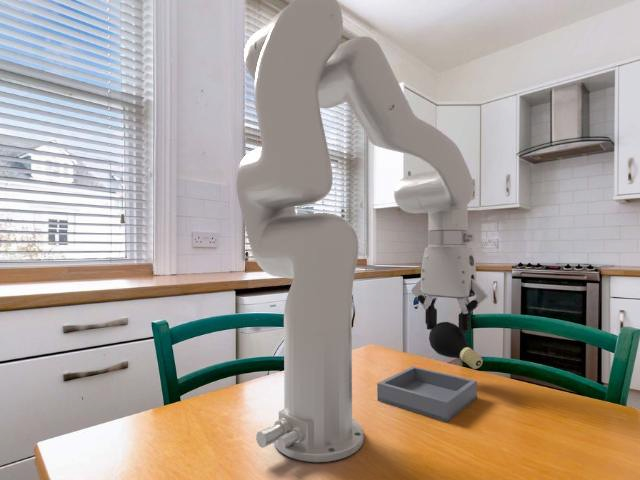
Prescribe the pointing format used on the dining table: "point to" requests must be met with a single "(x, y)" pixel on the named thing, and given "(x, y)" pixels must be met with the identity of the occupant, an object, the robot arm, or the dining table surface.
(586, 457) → the dining table surface
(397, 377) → the parts tray
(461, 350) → the light bulb
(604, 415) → the dining table surface
